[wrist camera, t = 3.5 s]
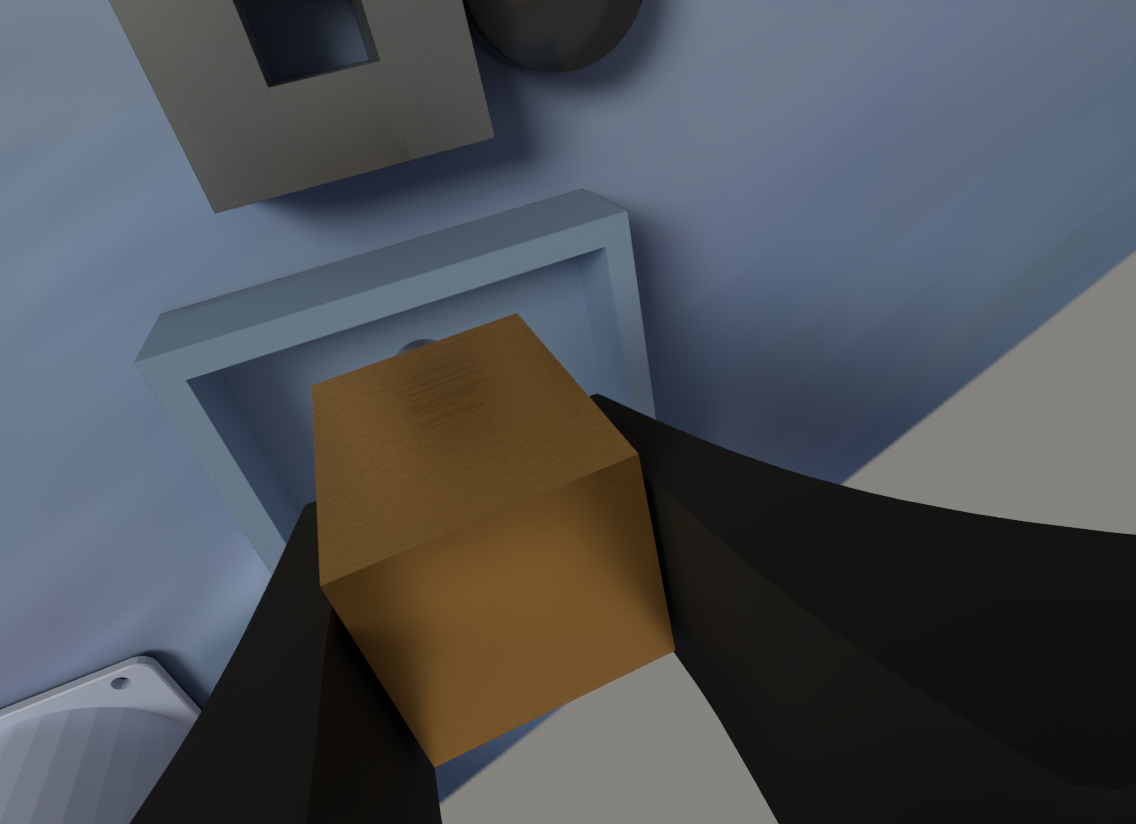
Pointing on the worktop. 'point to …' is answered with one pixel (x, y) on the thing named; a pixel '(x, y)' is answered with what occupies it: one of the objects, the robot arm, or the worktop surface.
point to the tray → (388, 339)
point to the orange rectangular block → (483, 534)
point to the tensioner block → (347, 84)
